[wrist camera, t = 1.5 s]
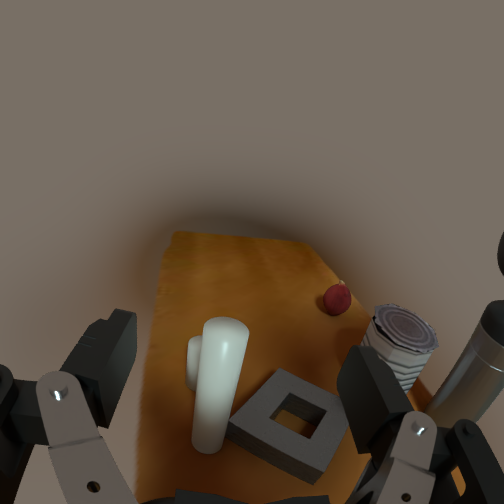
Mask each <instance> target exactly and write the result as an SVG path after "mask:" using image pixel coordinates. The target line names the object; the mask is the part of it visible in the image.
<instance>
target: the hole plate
mask: <svg viewBox="0 0 504 504" xmlns="http://www.w3.org/2000/svg"><path fill="white" fill-rule="evenodd" d="M282 409H284V410H286V411H288V412H290V413H292V414H294V415H296V416H298V417H300V418H302V419H304V420H306V421H308V422H310V423H312V424H314V425H316V426H318V427H317V429H316V430H315V432H314V434H313V435H312V437H311V438H310V439H308V438H306V437H304V436H302V435H300V434H298V433H296V432H294V431H292V430H290V429H288V428H286V427H284V426H283V425H281V424H279V423H277V422H275V421H273V420H274V419H275V418H276V417H277V415H278V414H279V413H280V412H281V410H282ZM348 426H349V423H348V420H347V417H346V414H345V411H344V408H343V405H342V402H341V399H340V397H338V396H336V395H334V394H332V393H330V392H328V391H326V390H323V389H321V388H319V387H317V386H315V385H313V384H311V383H309V382H307V381H305V380H303V379H301V378H299V377H297V376H295V375H293V374H291V373H289V372H287V371H285V370H283V369H281V368H279V369H278V370H277V371H276V372H275V373H274V374H273V375H272V376H271V377H270V378H269V379H268V380H267V381H266V383H265V384H264V385H263V386H262V387H261V388H260V389H259V390H258V391H257V392H256V393H255V394H254V395H253V396H252V397H251V398H250V399H249V400H248V401H247V402H246V403H245V404H244V405H243V406H242V407H241V408H240V409H239V410H238V411H237V412H236V413H235V414H234V415H233V416H232V417H231V418H230V419H229V420H228V424H227V428H226V433H225V437H226V438H228V439H229V440H231V441H232V442H234V443H236V444H237V445H239V446H241V447H242V448H244V449H246V450H247V451H249V452H251V453H252V454H254V455H256V456H258V457H259V458H261V459H263V460H265V461H266V462H268V463H270V464H272V465H274V466H276V467H277V468H279V469H281V470H283V471H285V472H287V473H289V474H291V475H293V476H295V477H297V478H299V479H301V480H303V481H305V482H307V483H309V484H312V485H314V483H315V482H316V481H317V480H318V479H319V478H320V477H321V475H322V474H323V473H324V472H325V470H326V468H327V466H328V465H329V463H330V461H331V459H332V457H333V455H334V453H335V451H336V450H337V448H338V446H339V444H340V442H341V440H342V438H343V436H344V434H345V432H346V430H347V428H348Z"/></svg>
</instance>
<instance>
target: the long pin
mask: <svg viewBox="0 0 504 504" xmlns="http://www.w3.org/2000/svg"><path fill="white" fill-rule="evenodd" d="M248 337H249V330H248V328H247V327H246V326H245V325H244V324H243V323H242V322H240V321H238V320H236V319H233V318H229V317H215V318H212V319H210V320H208V321H207V322H206V323H205V325H204V329H203V337H202V345H201V353H200V362H199V370H198V379H197V388H196V398H195V407H194V417H193V428H192V438H191V442H192V445H193V447H194V448H195V449H196V450H197V451H199V452H201V453H204V454H213V453H216V452H218V451H219V450H220V449H221V447H222V445H223V441H224V437H225V433H226V428H227V424H228V420H229V416H230V412H231V408H232V404H233V400H234V396H235V392H236V387H237V383H238V379H239V375H240V371H241V366H242V362H243V358H244V354H245V350H246V345H247V341H248Z"/></svg>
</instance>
